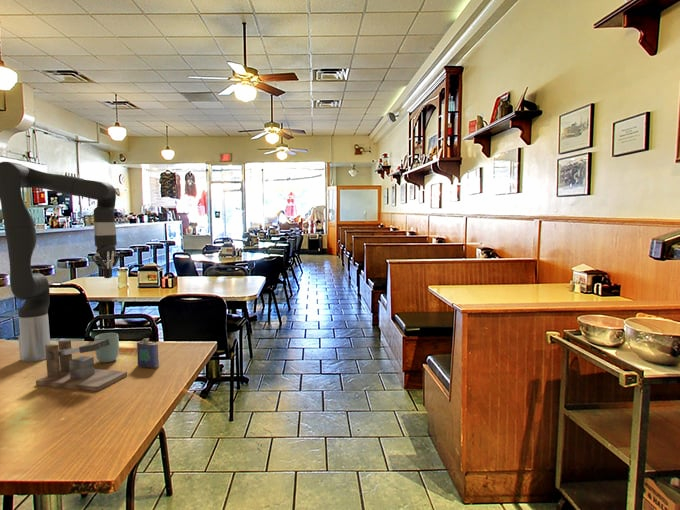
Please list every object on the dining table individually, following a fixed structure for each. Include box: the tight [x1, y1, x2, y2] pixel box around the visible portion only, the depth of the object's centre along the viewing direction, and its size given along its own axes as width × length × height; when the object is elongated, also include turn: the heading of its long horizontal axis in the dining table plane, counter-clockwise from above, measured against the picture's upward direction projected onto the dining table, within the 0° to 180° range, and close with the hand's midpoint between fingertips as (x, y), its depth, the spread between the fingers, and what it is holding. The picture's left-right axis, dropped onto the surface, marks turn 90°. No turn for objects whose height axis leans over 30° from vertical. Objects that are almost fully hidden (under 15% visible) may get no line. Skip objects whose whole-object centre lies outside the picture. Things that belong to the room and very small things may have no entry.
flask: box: [136, 337, 160, 369], centre depth 154 cm, size 9×3×11 cm, turn 68°
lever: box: [59, 339, 110, 356], centre depth 141 cm, size 19×6×2 cm, turn 77°
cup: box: [94, 332, 120, 364], centre depth 160 cm, size 8×8×10 cm
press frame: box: [35, 339, 128, 392], centre depth 141 cm, size 24×13×12 cm, turn 77°
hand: (107, 277), depth 165 cm, fingers closed
